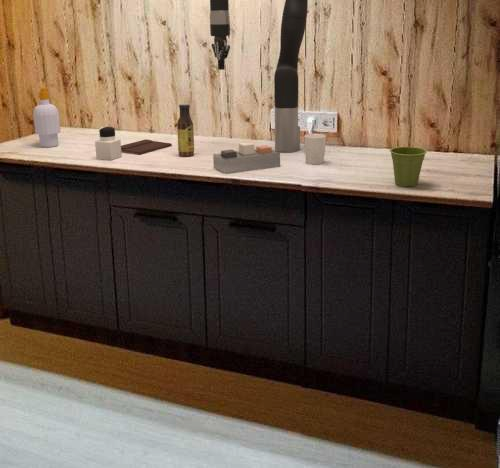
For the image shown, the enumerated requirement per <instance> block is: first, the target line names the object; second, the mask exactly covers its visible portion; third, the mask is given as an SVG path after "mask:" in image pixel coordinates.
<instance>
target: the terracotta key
mask: <svg viewBox="0 0 500 468" xmlns="http://www.w3.org/2000/svg"><path fill="white" fill-rule="evenodd" d="M272 148H273V147H272V146H269V145H259V146H256V147H255V149H256V152H258V153H270V152H272V150H273V149H272Z"/></svg>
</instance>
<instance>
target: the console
mask: <svg viewBox="0 0 500 468" xmlns="http://www.w3.org/2000/svg"><path fill="white" fill-rule="evenodd" d="M236 152H237V157H229V158H224V157H222V156H221V153H214V154H212V155H213V156H212V157H213V169H215V170H217V171H219V172H221V173H222V174H224V173H226V174H233V172H234V173H238V172H239V173H240V172H248V170H249V171H254V170H255V169H256V170H262V169H270V168H277V167H281V152H278V151H275V149H272V152H270V153H258V152H256V148H254V154H251V155H242V154H240V153H239V150H238V151H237V150H236ZM256 170H255V171H256Z"/></svg>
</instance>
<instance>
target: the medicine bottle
mask: <svg viewBox="0 0 500 468" xmlns="http://www.w3.org/2000/svg"><path fill="white" fill-rule="evenodd" d="M98 134H99V135H98V137H99V139H97V140H95V142H94V143H95V145H94V146H95V156H96V159H97V160H103V161H113V160H116V159H119V158H122V154H123V153H122V152H121V146H122V144H121V143H122V142H121V139H120V138H116V128H115V127H113V126H102V127H100V128H99V129H98Z"/></svg>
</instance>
